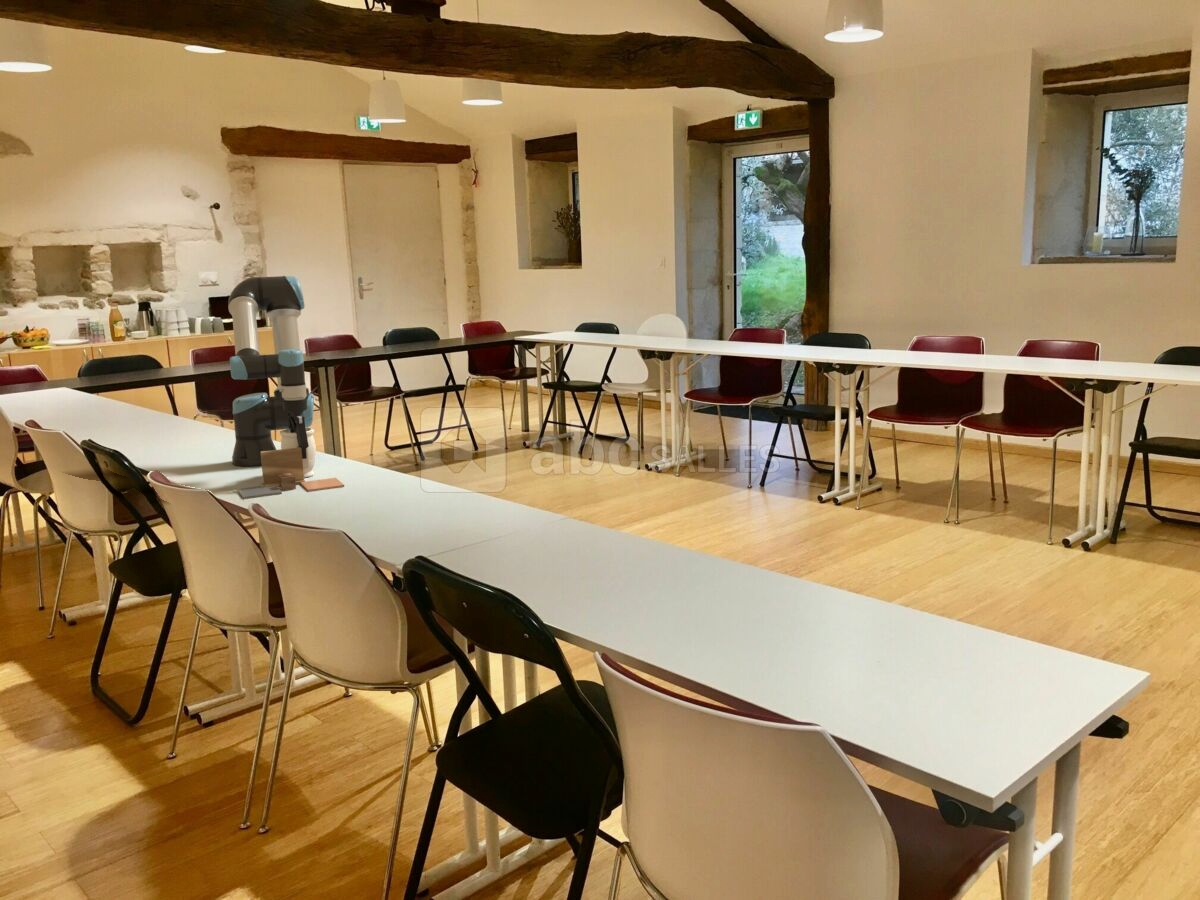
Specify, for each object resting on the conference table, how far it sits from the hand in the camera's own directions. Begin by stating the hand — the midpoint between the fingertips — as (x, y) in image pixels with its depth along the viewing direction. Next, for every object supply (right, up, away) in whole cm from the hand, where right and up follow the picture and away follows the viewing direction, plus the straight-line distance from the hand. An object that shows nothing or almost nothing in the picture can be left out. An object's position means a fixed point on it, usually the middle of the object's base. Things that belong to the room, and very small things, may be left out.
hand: (300, 465), depth 321 cm
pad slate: (-7, -8, -19) cm, 22 cm away
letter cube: (+1, -7, -15) cm, 16 cm away
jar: (0, -4, +1) cm, 4 cm away
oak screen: (-2, -6, -10) cm, 12 cm away
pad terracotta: (+10, -6, -12) cm, 17 cm away
